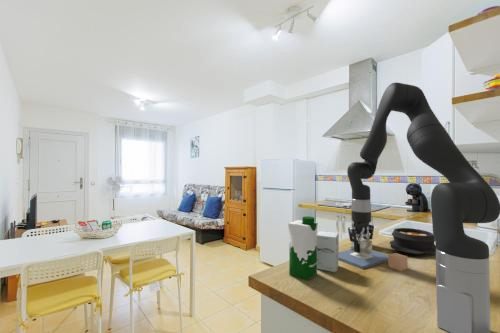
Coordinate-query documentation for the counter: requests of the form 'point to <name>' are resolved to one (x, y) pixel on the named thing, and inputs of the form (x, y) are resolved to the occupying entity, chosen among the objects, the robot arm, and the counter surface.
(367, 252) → the cream block
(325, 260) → the supplement box
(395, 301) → the counter surface
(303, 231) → the milk carton
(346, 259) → the blue board
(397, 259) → the terracotta cube
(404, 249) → the casserole
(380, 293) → the counter surface
